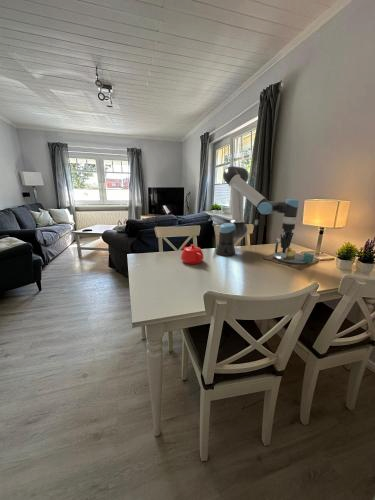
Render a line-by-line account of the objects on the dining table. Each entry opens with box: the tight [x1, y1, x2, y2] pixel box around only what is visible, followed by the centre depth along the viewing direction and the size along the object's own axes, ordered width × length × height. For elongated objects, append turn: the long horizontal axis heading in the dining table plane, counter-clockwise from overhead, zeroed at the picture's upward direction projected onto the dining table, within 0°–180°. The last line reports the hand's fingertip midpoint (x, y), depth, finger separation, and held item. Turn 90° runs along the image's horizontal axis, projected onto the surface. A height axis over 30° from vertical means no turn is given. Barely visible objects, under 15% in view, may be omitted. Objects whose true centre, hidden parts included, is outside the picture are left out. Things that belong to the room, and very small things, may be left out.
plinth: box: [261, 250, 320, 271], centre depth 154 cm, size 28×28×1 cm
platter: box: [272, 251, 315, 264], centre depth 152 cm, size 27×24×6 cm
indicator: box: [274, 238, 281, 253], centre depth 166 cm, size 2×2×11 cm
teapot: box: [180, 243, 204, 265], centre depth 146 cm, size 25×16×12 cm, turn 31°
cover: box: [281, 247, 297, 260], centre depth 150 cm, size 9×9×7 cm
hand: (283, 257), depth 146 cm, fingers closed
